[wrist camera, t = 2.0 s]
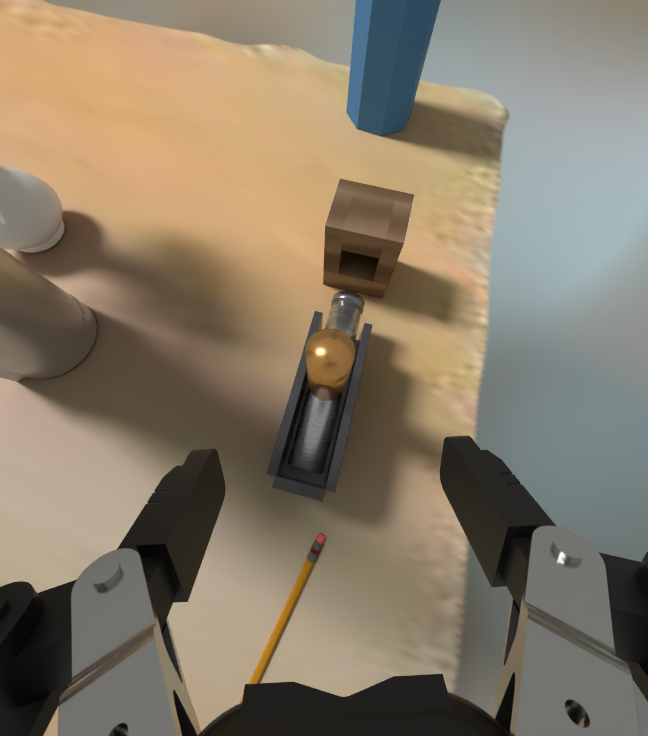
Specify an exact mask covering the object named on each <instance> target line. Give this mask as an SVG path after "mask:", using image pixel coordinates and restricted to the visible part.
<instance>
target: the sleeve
mask: <svg viewBox="0 0 648 736" xmlns="http://www.w3.org/2000/svg"><path fill="white" fill-rule="evenodd" d="M322 316H323V313H321V312H317V311H315V313H314V316H313V319H312V323H311V326H310V329H309V333H308V336H307V340H306V343H305V346H304V350H303V353H302V356H301V360H300V363H299V367H298V370H297V373H296V377H295V380H294V383H293V387H292V390H291V394H290V397H289V400H288V404H287V407H286V411H285V414H284V417H283V421H282V424H281V427H280V431H279V434H278V438H277V441H276V444H275V448H274V451H273V454H272V458H271V461H270V465H269V468H268V471H267V474H270V475H273V476H276V477H275V481H274V484H273V488H277V489H280V490H284V491H287V492H291V493H295V494H298V495H302V496H306V497H309V498H313V499H317V500H320V501H323V498H324V493H325V490H328V491H332V492H335V488H336V484H337V479H338V475H339V470H340V466H341V462H342V457H343V453H344V448H345V444H346V440H347V435H348V431H349V426H350V422H351V417H352V413H353V409H354V404H355V400H356V395H357V391H358V387H359V382H360V378H361V373H362V369H363V364H364V360H365V356H366V351H367V347H368V342H369V338H370V334H371V329H372V325H371V324H367V323H364V326H363V329H362V332H361V335H360V338H359V340H355V343H354V346H355V359H354V362H353V365H352V367H351V370H350V373H349V376H348V379H347V381H346V384H345V387H344V390H343V393H342V397H341V401H340V405H339V409H338V413H337V417H336V422H335V426H334V430H333V434H332V438H331V442H330V446H329V451H328V455H327V459H326V463H325V467H324V471H323V474H322V473H318V472H314V471H310V470H306V469H302V468H299V467H295V466H292V465H289V464H287V463H288V459H289V456H290V452H291V449H292V445H293V442H294V438H295V434H296V431H297V427H298V424H299V420H300V416H301V413H302V409H303V406H304V402H305V399H306V395H307V391H308V388H309V382H308V373H307V363H306V353H305V350H306V345H307V342H308V340H309V339H310V338H311V336H312V335H314V334H315V333H316V332H318V331H320V330H322Z"/></svg>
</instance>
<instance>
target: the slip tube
mask: <svg viewBox="0 0 648 736" xmlns="http://www.w3.org/2000/svg"><path fill="white" fill-rule="evenodd" d="M364 304H365V302H364V300H363V298H362V297H361V296H359V295H358V294H355V293H353V292H349V291H340V292H337V293H335V294H334V296H333V300H332V303H331V309H330V312H329V316H328V320H327V323H326V327H325V329H323V330H320V331H318V332H316V333H315V334H314V335H312V336H311V338H310V339H309V340H308V342H307V345H306V350H305V353H306V363H307V373H308V382H309V388H308V391H307V395H306V399H305V402H304V406H303V409H302V413H301V416H300V420H299V424H298V427H297V431H296V434H295V438H294V442H293V445H292V449H291V452H290V456H289V459H288V463H287V464H289V465H292V466H295V467H299V468H302V469H306V470H310V471H314V472H318V473H322V474H323V471H324V467H325V463H326V459H327V455H328V451H329V446H330V442H331V438H332V434H333V430H334V426H335V422H336V417H337V413H338V409H339V405H340V401H341V397H342V393H343V390H344V387H345V384H346V381H347V379H348V376H349V373H350V370H351V367H352V365H353V362H354V359H355V346H354V343H355V339H356V335H357V331H358V327H359V322H360V318H361V315H362V312H363V308H364Z"/></svg>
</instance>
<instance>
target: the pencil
mask: <svg viewBox="0 0 648 736" xmlns="http://www.w3.org/2000/svg"><path fill="white" fill-rule="evenodd" d="M324 540H325V536H324V535H322V534H319V536H318V538H317V540H315V542H314V544H313V546H312V549H311V551H310V552H309V555H308V557H307V561H306V563H305V565H304V567H303V569H302V571H301V574H300V576H299V578H298V580H297V582H296V584H295V586H294V588H293V591H292V593H291V595H290V597H289V599H288V601H287V603H286V606H285V608H284V610H283V612H282V614H281V616H280V618H279V620H278V623H277V625H276V627H275V629H274V631H273V633H272V635H271V638H270V640H269V642H268V644H267V646H266V648H265V650H264V652H263V655H262V657H261V659H260V661H259V663H258V665H257V667H256V670H255V672H254V674H253V676H252V678H251V680H250V682H249V684H258V683H259V681H260V679H261V677H262V675H263V672H264V670H265V668H266V666H267V664H268V662H269V659H270V657H271V655H272V653H273V651H274V649H275V646H276V644H277V642H278V640H279V638H280V636H281V633H282V631H283V629H284V627H285V625H286V623H287V620H288V618H289V616H290V614H291V612H292V610H293V607H294V605H295V603H296V601H297V599H298V596H299V594H300V592H301V590H302V588H303V586H304V583H305V581H306V579H307V577H308V575H309V573H310V570H311V568H312V566H313V564H314V563H315V562H316V559H317V557H318V555H319V553H320V550H321V548H322V546H323V542H324ZM242 700H243V697H242V699H241V701H240V703H242Z"/></svg>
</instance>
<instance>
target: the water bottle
mask: <svg viewBox="0 0 648 736" xmlns="http://www.w3.org/2000/svg"><path fill="white" fill-rule="evenodd" d="M440 1H441V0H356V8H355V19H354V20H355V21H354V32H353V43H352V55H351V67H350V79H349V90H348V102H347V114H348V115H349V117H350V119H351V120H352V122H353V123H354V125H355V126H356V128H357V129H359V130H363V131H366V132H369V133H372V134H376V135H379V136H383V135H386V134H390V133H393V132H397V131H400V130H403V129H404V127H405V125H406V122H407V120H408V118H409V116H410V114H411V110H412V106H413V102H414V99H415V95H416V91H417V87H418V84H419V80H420V76H421V72H422V69H423V65H424V61H425V57H426V54H427V50H428V46H429V42H430V39H431V35H432V31H433V27H434V24H435V20H436V16H437V12H438V9H439V5H440Z"/></svg>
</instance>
